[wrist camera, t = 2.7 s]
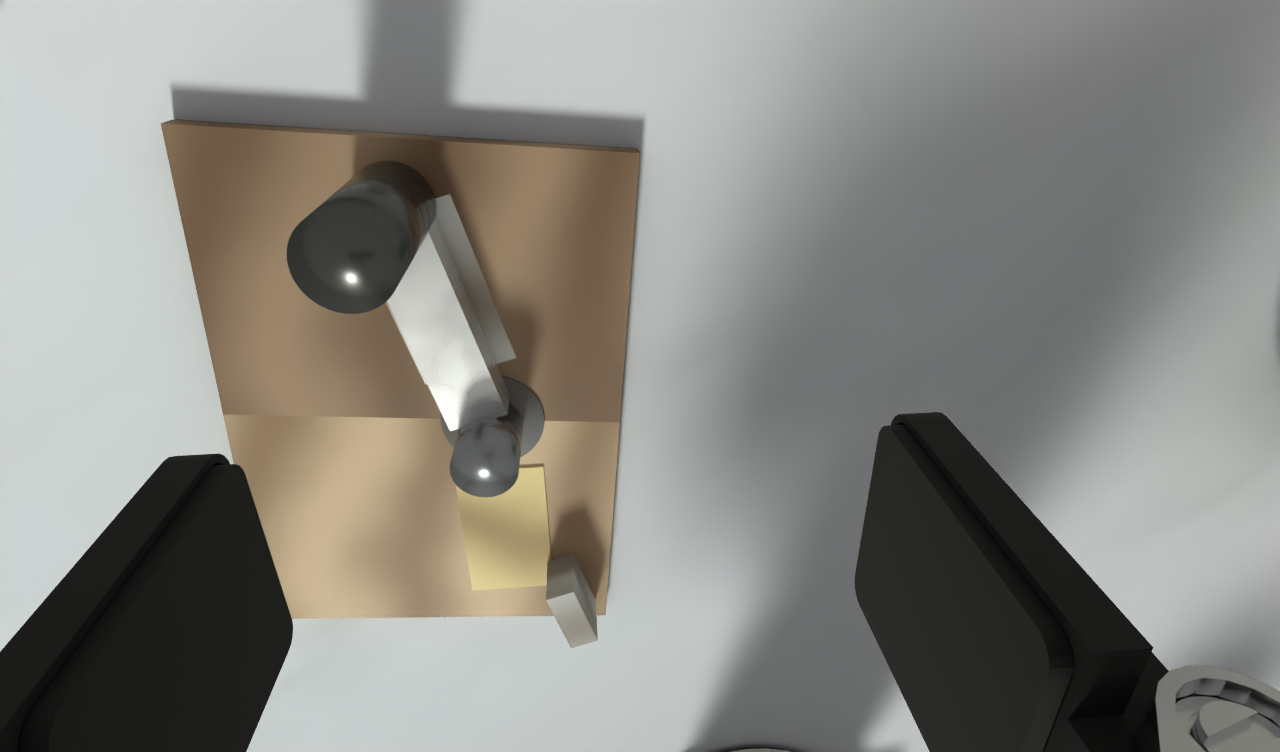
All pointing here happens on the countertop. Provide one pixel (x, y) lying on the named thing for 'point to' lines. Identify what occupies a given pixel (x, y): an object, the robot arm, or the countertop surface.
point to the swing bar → (413, 308)
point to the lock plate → (418, 371)
